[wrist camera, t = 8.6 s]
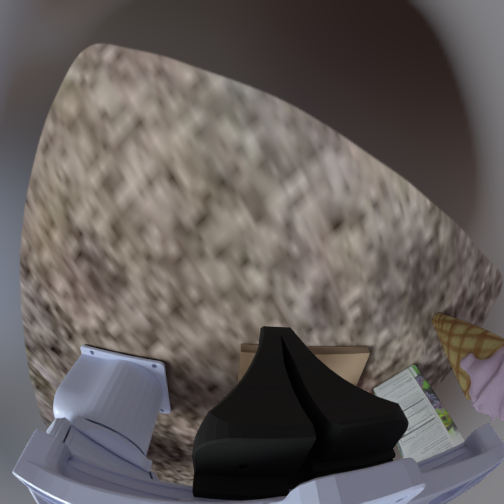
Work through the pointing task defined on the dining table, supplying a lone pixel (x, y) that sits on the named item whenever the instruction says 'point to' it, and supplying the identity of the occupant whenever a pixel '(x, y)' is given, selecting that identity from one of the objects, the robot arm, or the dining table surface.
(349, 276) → the dining table surface
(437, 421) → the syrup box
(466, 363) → the ice cream cone
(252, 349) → the frame
